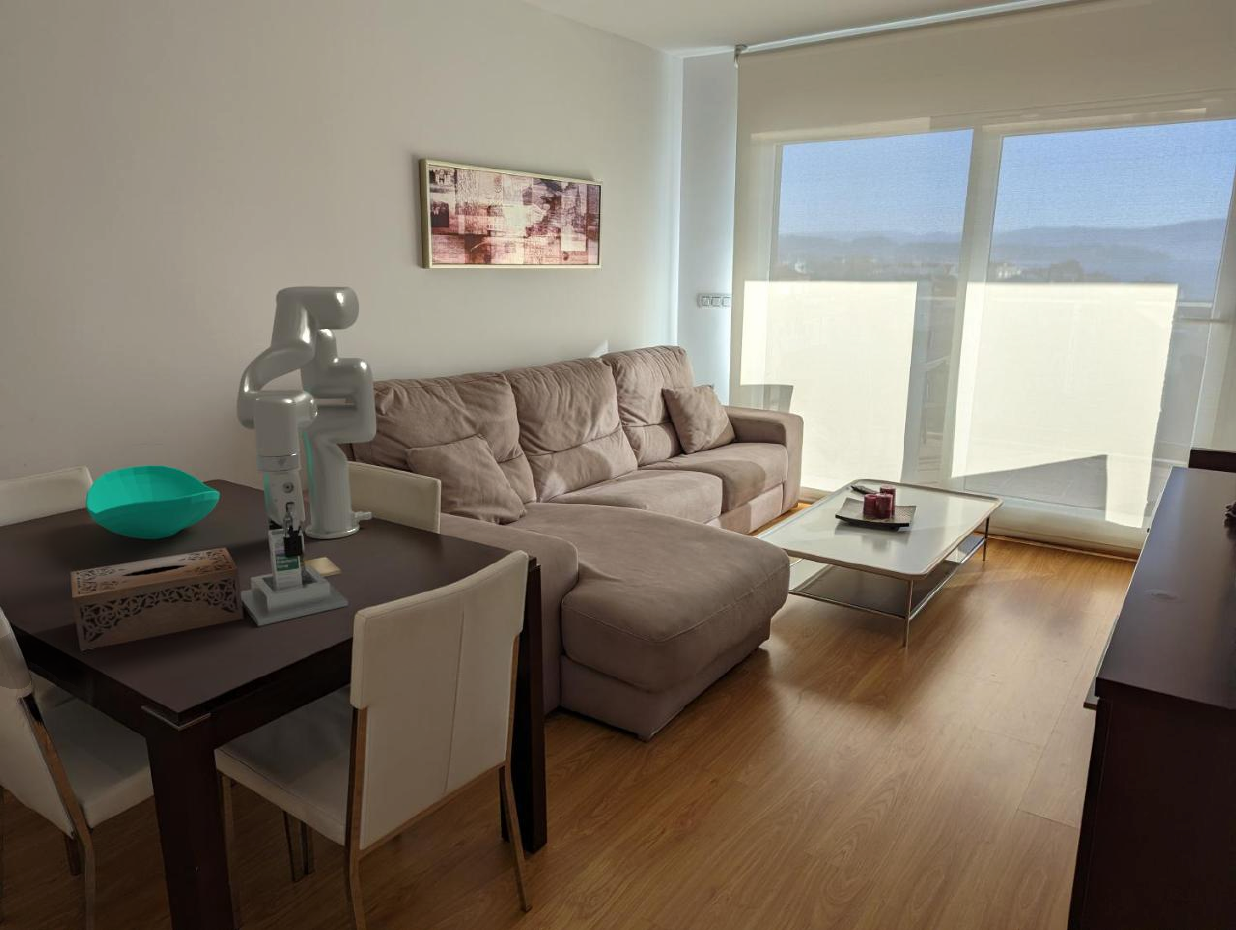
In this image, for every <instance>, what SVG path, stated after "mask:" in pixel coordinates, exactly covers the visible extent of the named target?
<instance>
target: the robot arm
mask: <svg viewBox="0 0 1236 930" xmlns="http://www.w3.org/2000/svg"><path fill="white" fill-rule="evenodd" d="M275 302H276V307H275V314H274V320H273V328H272V333H271V334H272V335H271V340H270V346H269V347H267V348H266V349H265V350H264V351H262V352H261V353H260V354H259V355H257V356H256V357H255V358H254V359H253V360H252V361H251V362H250V363H249V364H248V366H247V367H246V368H245V370H244V371H243V373H242V375H241V378H240V382H239V388H238V392H237V393H238V394H237V400H236V415H237V420H238V422H239V423H240V425H241V426H243V428H245V429H249V430H254V439H255V449H256V450H255V452H256V460H257V461H256V462H257V472H258V473H259V474H263V489H264V490H263V491H264V493H263V494H264V505H265V510H266V515H267V517H268V529H269V530H277V529H283V531H284V534H285V537H283V542H284V554H285V557H286V558H291V557H296V556H301V555H303V547H302V534H303V532H302V533H301V531H302V530H301V529H302V527H301V524H300V523H304V522H305V520H306V514H305V504H304V498H303V489H302V485H301V484H302V483H301V479H300V474H299V471H301V469H302V464H301V463H302V462H301V461H302V460H301V450H300V449H301V447H300V438H299V430H300V434H301V438H302V442H303V446H304V448H303V449H304V453H305V461H306V473H307V487H308V497H309V498H308V499H309V509H310V510H309V511H310V522H311V524H309V525H308V526H306V528H305V529H304V532H305V535H306V536H307V537H309V538H314V539H319V540H323V539H325V540H326V539H339V538H344V537H348V536H350V535H354V534H356V533H357V532H358V531H359V530H360V524H359V523H360V521H368V520H371V519H372V518H373V515H372V512H371V511H362V510H361V511H359V510H358V511H356V512H355V511H354V510H352V501H351V500H352V499H351V498H352V497H351V487H350V471H349V461H348V458H347V455H346V454H345V453H344V452H343V449H341V448H340V447H339V446H338V445H337V444H340V445H341V444H360V443H368V442H371V441H373V440H374V438H375V436H376V434H377V416H376V415H377V414H376V413H377V412H376V399H375V390H374V381H373V373H372V369H371V366H370V365H369V363H368V362H367V361H366V360H365V359H362V358H358V357H339V356H338V349H337V348H338V347H337V337H336V334H335V333H334V332H333V330H334V331H335V330H340V331H341V330H347V329H348V328H349V327H351V326H353V325H354V324H355V323H356V322H357V319H358V317H359V313H360V304H359V302H360V301H359V299H358V295H357V293H356V292H355V291H354V289H353V288H351V287H349V286H314V285H313V286H310V285H309V286H308V285H306V286H301V285H300V286H290V287H289V286H288V287H284V288H282V289H280V290H278V291H277V293H276V296H275ZM297 370H299V371H300V380H301V386H302V390H299V389H297V390H296V389H280V390H279V389H276V390H273V389H271V390H266V389H265V390H262V389H263V387H265V386H266V384H268V383H270V382H272V381H273V380H275V379H277V378H280V377H282V376H284V375H288V374H290V373H292V372H294V371H297ZM318 399H319V400H338V399H339V400H341V399H343V400H345V399H346V400H347V399H350V400H352V401H353V402H352V403H351V402H349V403H348V402H347V403H345V402H344V403H343V402H342V403H340V402H339V403H337V402H335V403H333V402H332V403H330V402H329V403H327V402H326V403H317V401H316V400H318ZM288 528H289V529H288ZM269 530H268V531H269Z"/></svg>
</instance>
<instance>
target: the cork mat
mask: <svg viewBox="0 0 1236 930" xmlns="http://www.w3.org/2000/svg"><path fill="white" fill-rule="evenodd" d="M305 563H306V567H307V566H312V567H313V568H314V569H315V570H316V571H317V572H318V573H320V574H321V575H322V576H323V577H324V578H325V577H330V576H335V575H341V574H342V570H341V568H339V567H338V566H337V565H336V564H335V563H334V562H332V560H330V559H329V558H327V556H324V557H320V558H319V557H318V558H314V559H308V560H305Z"/></svg>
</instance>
